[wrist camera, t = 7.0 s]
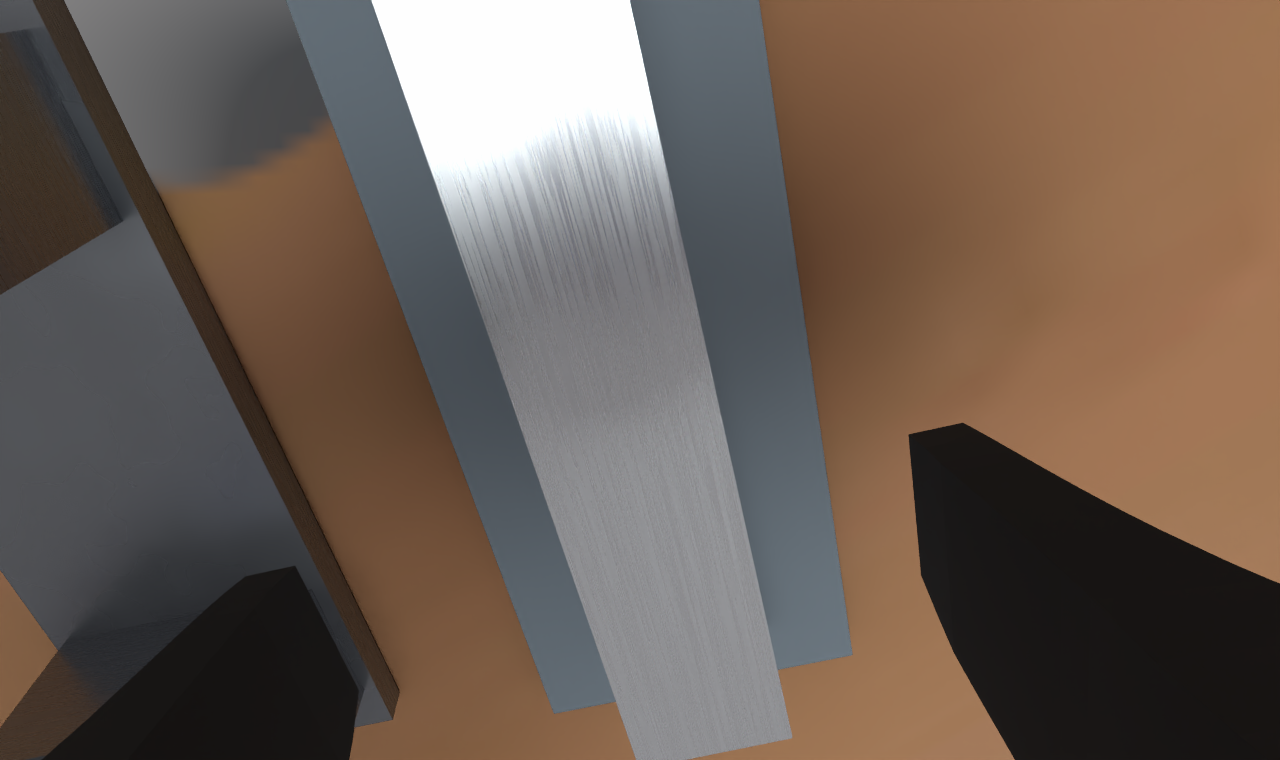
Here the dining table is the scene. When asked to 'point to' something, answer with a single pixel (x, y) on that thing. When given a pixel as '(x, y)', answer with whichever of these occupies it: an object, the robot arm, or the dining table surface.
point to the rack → (124, 409)
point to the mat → (725, 296)
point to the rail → (599, 347)
